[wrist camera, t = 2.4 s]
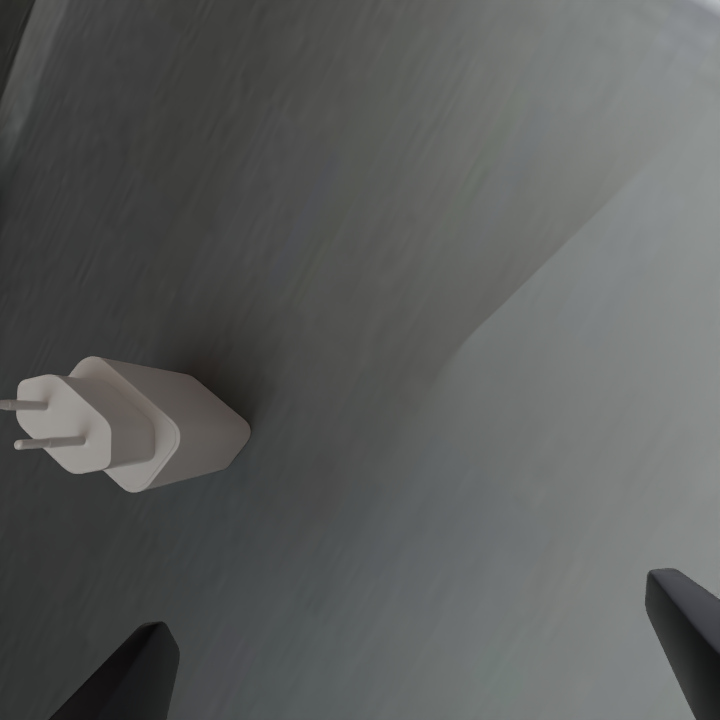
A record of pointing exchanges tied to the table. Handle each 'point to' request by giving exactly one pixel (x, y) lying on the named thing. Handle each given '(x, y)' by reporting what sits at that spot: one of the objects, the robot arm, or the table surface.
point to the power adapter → (129, 423)
